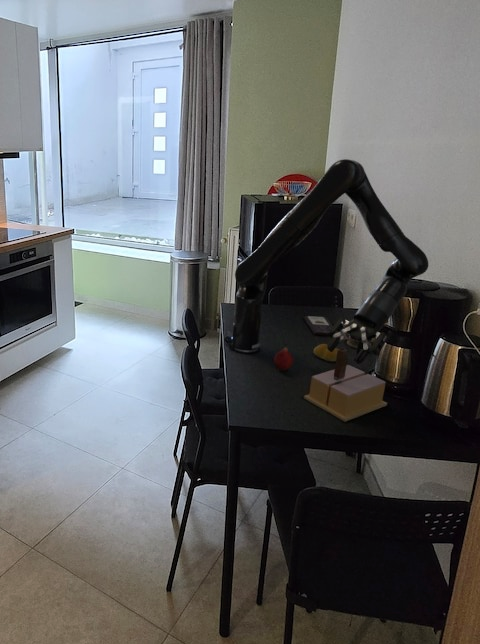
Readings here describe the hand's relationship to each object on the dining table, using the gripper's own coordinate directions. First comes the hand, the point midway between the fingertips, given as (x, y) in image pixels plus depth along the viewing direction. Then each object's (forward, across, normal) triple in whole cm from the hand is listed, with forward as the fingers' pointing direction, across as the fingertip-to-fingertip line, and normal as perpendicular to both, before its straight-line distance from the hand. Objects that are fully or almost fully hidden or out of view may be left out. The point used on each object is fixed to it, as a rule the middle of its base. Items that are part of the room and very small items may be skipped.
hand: (342, 356), depth 133 cm
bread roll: (-7, -23, +29) cm, 37 cm away
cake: (+8, 0, +14) cm, 16 cm away
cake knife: (+10, 0, +10) cm, 15 cm away
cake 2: (-21, -24, +43) cm, 53 cm away
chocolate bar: (-22, -43, +43) cm, 65 cm away
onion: (+9, -23, +13) cm, 28 cm away
